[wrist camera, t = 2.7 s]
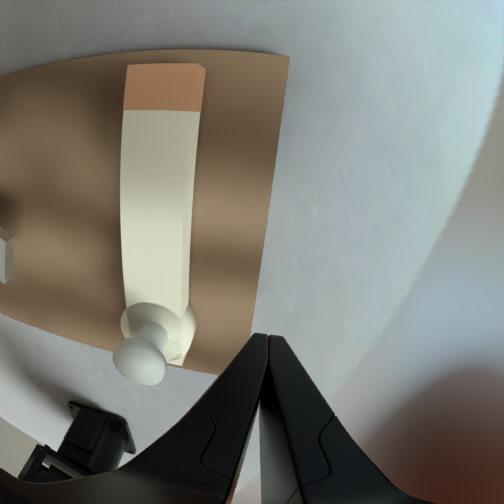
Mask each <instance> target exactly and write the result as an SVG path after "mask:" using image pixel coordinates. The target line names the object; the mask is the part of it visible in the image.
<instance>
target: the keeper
mask: <svg viewBox="0 0 504 504" xmlns="http://www.w3.org/2000/svg"><path fill="white" fill-rule="evenodd" d="M14 239H15V236H13V235H12V234H10V233H9V232H8V231H6V230H5V229H3V228H2V227H1V226H0V281H1V282H2V283H4V284H6V283H7V282H8V281H10V280H11V279H12V278H13V254H14Z"/></svg>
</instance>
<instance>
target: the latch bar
mask: <svg viewBox="0 0 504 504" xmlns="http://www.w3.org/2000/svg"><path fill="white" fill-rule="evenodd" d="M205 74H206V69H205V68H203V67H202V66H201V65H199V64H198V63H160V64H137V65H128V68H127V76H126V84H125V93H124V104H123V110H124V111H123V124H122V140H121V165H120V221H121V247H122V264H123V278H124V289H125V300H126V309H125V311H124V312H123V314H122V316H121V322H120V323H121V330H122V333H123V335H124V337H125V339H124V340H122V341H121V342H120V343H119V344H118V346H117V348H116V349H115V351H114V353H113V362H114V364H115V366H116V368H117V369H118V371H119V372H120V373H121V374H122V375H123V376H124V377H126V378H127V379H129V380H130V381H132V382H135V383H137V384H140V385H146V386H150V385H155V384H158V383H159V382H160V381H161V380H162V378H163V376H164V373H165V371H166V368H167V363H170V364H175V365H180V366H182V364H183V362H184V359H185V356H186V353H187V352H188V350H189V348H190V345H191V342H192V339H193V337H194V334H195V331H196V327H197V320H196V316H195V313H194V311H193V309H192V308H191V306H190V305H189V304H188V298H189V263H190V239H191V220H192V204H193V189H194V176H195V163H196V152H197V141H198V130H199V121H200V112H201V107H202V99H203V90H204V82H205Z"/></svg>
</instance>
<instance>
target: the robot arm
mask: <svg viewBox="0 0 504 504" xmlns="http://www.w3.org/2000/svg"><path fill="white" fill-rule="evenodd" d="M258 405H259V430H260V466H261V503H262V504H436V503H433V502H429V501H425V500H422V499H419V498H415V497H413V496H410V495H408V494H406V493H404V492H403V491H401V490H400V489H398V488H397V487H396V486H395V485H394V484H393V483H392V482H391V481H390V480H389V479H388V478H387V477H386V476H385V475H384V474H383V473H382V472H381V471H380V469H379V468H378V467H377V466H376V465H375V464H374V463H373V462H372V461H371V460H370V459H369V458H368V456H367V455H366V454H365V453H364V452H363V451H362V450H361V448H360V447H359V446H358V445H357V444H356V442H355V441H354V440H353V439H352V438H351V436H350V435H349V433H348V432H347V431H346V429H345V428H344V427H343V425H342V424H341V423H340V421H339V419H338V418H337V416H335V414H334V412H333V411H332V409H331V408H330V406H329V405H328V403H327V402H326V400H325V399H324V397H323V396H322V394H321V393H320V391H319V390H318V388H317V387H316V385H315V384H314V382H313V381H312V379H311V378H310V376H309V375H308V373H307V372H306V370H305V369H304V367H303V366H302V364H301V363H300V361H299V360H298V358H297V357H296V355H295V353H294V352H293V350H292V349H291V347H290V346H289V344H288V343H287V341H286V340H285V338H284V337H283V336H277V335H269V337H268V335H267V334H262V333H254V334H253V335H252V336H251V337H250V339H249V340H248V341H247V342H246V344H245V345H244V346H243V347H242V348H241V350H240V351H239V352H238V353H237V355H236V356H235V357H234V358H233V359H232V361H231V362H230V363H229V364H228V365H227V367H226V368H225V369H224V370H223V371H222V373H221V374H220V375H219V376H218V377H217V379H216V380H215V381H214V382H213V383H212V385H211V386H210V387H209V388H208V389H207V390H206V392H205V393H204V394H203V395H202V396H201V397H200V399H199V400H198V401H197V402H196V403H195V404H194V405H193V406H192V408H191V409H190V410H189V411H188V412H187V413H186V414H185V415H184V416H183V417H182V418H181V419H180V420H179V421H178V422H177V423H176V424H175V425H174V426H173V427H172V428H170V429H169V430H168V431H167V432H166V433H165V434H164V435H162V436H161V437H160V438H159V439H157V440H156V441H155V442H154V443H152V444H151V445H150V446H148V447H147V448H146V449H145V450H143V451H142V452H141V453H140V454H138V455H137V456H136V457H134V458H133V459H132V460H130V461H129V462H127V463H126V464H124V465H123V466H121V467H119V468H118V466H119V463H120V460H121V458H122V455H123V453H124V452H127V453H130V454H135V453H136V448H135V445H134V442H133V439H132V436H131V433H130V430H129V427H128V424H127V422H126V421H125V420H123V419H121V418H118V417H114V416H111V415H108V414H105V413H102V412H99V411H96V410H94V409H91V408H88V407H85V406H83V405H80V404H77V403H75V402H72V401H69V403H68V404H67V406H68V408H69V410H70V412H71V414H72V416H73V418H74V420H73V422H72V424H71V425H70V427H69V429H68V431H67V433H66V434H65V436H64V439H63V441H62V443H61V445H60V447H59V449H58V451H57V452H55V451H54V450H52V449H51V448H50V447H49V446H48V445H46V444H45V446H41V445H38V444H37V445H36V447H35V449H34V451H33V452H32V454H31V456H30V457H29V459H28V461H27V462H26V464H25V466H24V467H23V469H22V471H21V472H20V474H19V476H18V478H16V477H14V476H12V475H11V474H9V473H8V472H6V471H5V470H3V469H2V468H0V504H231V501H232V498H233V495H234V492H235V488H236V485H237V482H238V478H239V475H240V471H241V468H242V464H243V461H244V457H245V454H246V450H247V447H248V443H249V440H250V436H251V432H252V429H253V425H254V421H255V418H256V414H257V410H258ZM42 462H44V463H45V464H47V465H48V466H50V467H49V469H48V468H47V467H45V466H44V465H42Z"/></svg>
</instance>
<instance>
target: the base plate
mask: <svg viewBox="0 0 504 504" xmlns="http://www.w3.org/2000/svg"><path fill="white" fill-rule="evenodd" d="M160 63H198V64H199V65H201V66H202V67H203V68H205V69H206V74H205V82H204V90H203V99H202V107H201V112H200V121H199V130H198V141H197V152H196V163H195V176H194V189H193V204H192V220H191V239H190V263H189V298H188V304H189V305H190V306H191V308H192V309H193V311H194V313H195V316H196V320H197V327H196V331H195V334H194V337H193V339H192V342H191V345H190V348H189V350H188V352H187V353H186V356H185V359H184V362H183V364H182V366H180V365H175V364H170V363H167V365H169V366H174V367H178V368H183V369H188V370H194V371H199V372H205V373H210V374H216V375H220V374H221V373H222V371H223V370H224V369H225V368H226V367H227V365H228V364H229V363H230V362H231V361H232V359H233V358H234V357H235V356H236V355H237V353H238V352H239V351H240V350H241V348H242V347H243V346H244V345H245V344H246V342H247V341H248V340H249V339H250V332H251V326H252V319H253V313H254V306H255V299H256V293H257V286H258V279H259V272H260V266H261V259H262V252H263V245H264V238H265V231H266V224H267V217H268V210H269V203H270V196H271V189H272V182H273V175H274V168H275V161H276V153H277V146H278V139H279V132H280V124H281V117H282V109H283V102H284V94H285V87H286V79H287V72H288V64H289V56H282V55H274V54H265V53H255V52H243V51H229V50H203V49H173V50H148V51H134V52H122V53H113V54H104V55H97V56H90V57H83V58H77V59H71V60H66V61H61V62H56V63H51V64H46V65H42V66H38V67H34V68H30V69H26V70H22V71H18V72H15V73H11V74H8V75H5V76H1V77H0V226H1V227H2V228H3V229H5V230H6V231H8V232H9V233H10V234H12V235H13V236H15V239H14V254H13V278H12V279H11V280H10V281H8V282H7V283H6V284H4V283H2V282H1V281H0V314H3V315H5V316H8V317H10V318H12V319H15V320H18V321H20V322H23V323H25V324H28V325H31V326H33V327H36V328H39V329H41V330H44V331H47V332H50V333H53V334H56V335H59V336H62V337H65V338H68V339H71V340H74V341H77V342H80V343H84V344H87V345H90V346H94V347H97V348H101V349H104V350H108V351H111V352H114V351H115V349H116V348H117V346H118V344H119V343H120V342H121V341H122V340H124V339H125V337H124V335H123V333H122V330H121V323H120V322H121V316H122V314H123V312H124V311H125V309H126V300H125V289H124V278H123V264H122V247H121V221H120V165H121V140H122V124H123V111H124V110H123V104H124V93H125V84H126V76H127V68H128V65H137V64H160Z"/></svg>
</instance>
